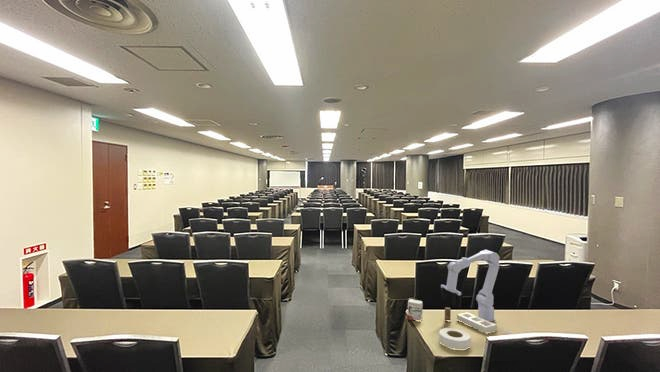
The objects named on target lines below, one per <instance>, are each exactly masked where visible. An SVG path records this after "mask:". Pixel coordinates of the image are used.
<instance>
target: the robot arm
mask: <svg viewBox="0 0 660 372" xmlns="http://www.w3.org/2000/svg"><path fill="white" fill-rule="evenodd" d="M500 258H501V257H500V256H499V254H498V253H497V252H495V251H491V250H488V249H483V250H480V251H479V252H478V253H475V254H474V255H472V256H470V257H461V259H458V260H456V259H455V261H450V262H449V263H448V264H447V266H446V267H447V269H448V273H447V279H446V285H445V284H440V289H439V290H440V293H441V297H442V298H441V299H442V301H443V302H445V301H446V300H447V296H448V294H449V292H451V297H452V298H451V305H452V306H456V303H457V302H458V300H459V299H460V297H461V295H462V292H461V291H459V290H458V289H457V283H458V276H459V273H460V272H461V270H463V269H465V268H469V267H470V266H471V264H473V263H475V262H479V261H481V260H484V261H485V262H486V263H487V264H488V269H487V272H486V276H485V280H484V283H483V286H482V289H480V290H479V291H478V294H477V295H476V297H475V300H476V302H477V304H478V308H477V309H478V310H477V311H478V314H477V317H480V318H482V319H484V320H487V321H489V322H491V323H492V322H493V321H496V319H495V308H494V306H493V305H494V294H493V291H494V290H493V289H494V287H495V286H494V285H495V284H496V283H495V282H496V280H497V276H498V272H499V269H500ZM446 302H447V301H446Z"/></svg>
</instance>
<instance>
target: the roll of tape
mask: <svg viewBox="0 0 660 372" xmlns="http://www.w3.org/2000/svg"><path fill="white" fill-rule="evenodd" d="M438 340H439V341H440V342H441V343H442V344H444V345H445V346H447V347H450V348H455V349H466V348H468V347H470V348H471V334H469V333H468V332H467V331H464V330H463V329H461V328H460V329H459V328H454V327H445V328H441V329H440V330H439V332H438ZM439 341H438V342H439Z"/></svg>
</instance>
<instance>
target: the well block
mask: <svg viewBox="0 0 660 372" xmlns="http://www.w3.org/2000/svg"><path fill="white" fill-rule="evenodd" d="M457 319H458V320H460V321H462V322H464V323H466V324H468V325H470V326H472V327H473V328H476V329H478V330H480V331H483V332H486V333H487V332H493V331H496V332H497V329H498V328H497V327H498V326H497V324H496V323H494V322H492V321H491V322H489V321H487V320H484V319H482V318H480V317H478V315H475V314H472V313H470V312H463V313H459V314H458V313H457V314H456V320H457ZM473 328H472V329H473ZM478 330H477V331H478ZM480 331H479V332H480ZM493 333H494V332H493Z"/></svg>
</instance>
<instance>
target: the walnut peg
mask: <svg viewBox="0 0 660 372" xmlns="http://www.w3.org/2000/svg"><path fill="white" fill-rule="evenodd" d="M451 310H452V309H451V307H444V321H445V320H451V319H452V318H451Z"/></svg>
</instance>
